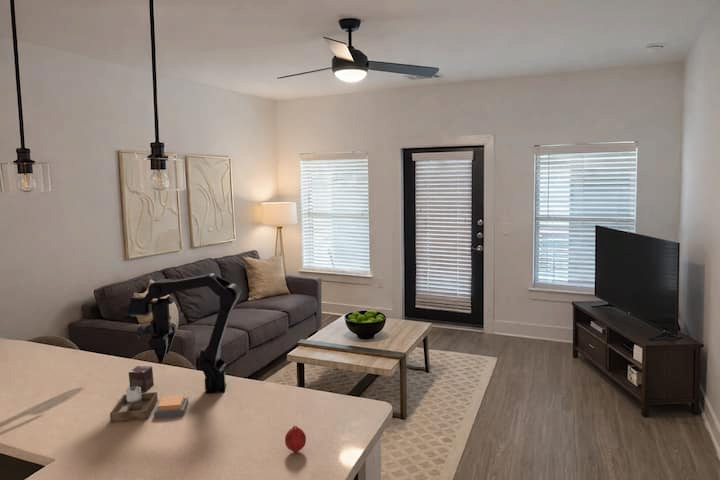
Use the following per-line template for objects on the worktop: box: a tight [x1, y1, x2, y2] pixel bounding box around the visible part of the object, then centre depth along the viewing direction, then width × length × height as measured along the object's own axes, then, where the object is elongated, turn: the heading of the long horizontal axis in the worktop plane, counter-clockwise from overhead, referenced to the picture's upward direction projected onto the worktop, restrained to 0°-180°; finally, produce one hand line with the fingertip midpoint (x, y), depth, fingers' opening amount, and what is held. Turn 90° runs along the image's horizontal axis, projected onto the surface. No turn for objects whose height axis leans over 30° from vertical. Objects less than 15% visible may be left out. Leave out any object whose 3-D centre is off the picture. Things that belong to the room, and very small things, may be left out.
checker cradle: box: [153, 397, 189, 419], centre depth 168 cm, size 9×9×2 cm
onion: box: [284, 425, 307, 454], centre depth 142 cm, size 6×6×8 cm
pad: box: [157, 394, 186, 411], centre depth 168 cm, size 7×7×2 cm
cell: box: [125, 386, 142, 411], centre depth 168 cm, size 4×4×8 cm
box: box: [128, 365, 154, 393], centre depth 186 cm, size 6×6×7 cm
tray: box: [109, 391, 158, 423], centre depth 168 cm, size 11×14×3 cm
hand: (163, 357), depth 183 cm, fingers open, 9 cm apart
